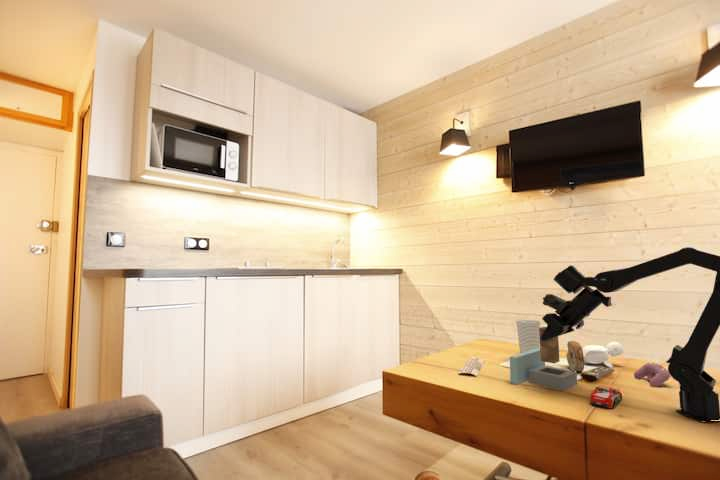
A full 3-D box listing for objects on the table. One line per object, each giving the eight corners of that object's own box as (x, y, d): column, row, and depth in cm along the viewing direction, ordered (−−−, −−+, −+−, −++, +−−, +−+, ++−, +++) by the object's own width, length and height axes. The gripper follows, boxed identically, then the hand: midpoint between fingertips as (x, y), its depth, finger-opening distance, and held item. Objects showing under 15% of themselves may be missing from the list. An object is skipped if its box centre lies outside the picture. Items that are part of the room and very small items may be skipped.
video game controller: (665, 393, 105) (676, 372, 105) (649, 385, 106) (660, 364, 106) (645, 383, 115) (655, 363, 114) (631, 375, 115) (640, 356, 115)
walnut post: (559, 361, 109) (557, 328, 110) (554, 363, 106) (552, 329, 107) (545, 359, 112) (544, 326, 113) (540, 361, 109) (539, 328, 110)
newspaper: (468, 361, 139) (468, 356, 139) (487, 363, 136) (487, 358, 136) (458, 377, 118) (458, 371, 118) (480, 379, 115) (480, 374, 115)
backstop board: (545, 372, 120) (544, 348, 121) (516, 384, 108) (515, 357, 108) (539, 371, 122) (538, 347, 123) (510, 383, 109) (509, 356, 110)
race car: (601, 394, 100) (600, 380, 101) (624, 399, 96) (623, 384, 96) (586, 405, 91) (585, 389, 92) (611, 411, 87) (610, 395, 88)
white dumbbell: (587, 374, 129) (633, 362, 124) (576, 352, 131) (620, 339, 126) (582, 369, 137) (624, 357, 132) (572, 347, 139) (613, 335, 134)
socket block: (577, 385, 108) (576, 371, 109) (564, 392, 102) (563, 377, 102) (543, 377, 116) (543, 365, 116) (529, 383, 110) (528, 370, 110)
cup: (528, 366, 129) (526, 322, 131) (512, 360, 137) (511, 319, 139) (547, 364, 131) (545, 322, 133) (530, 359, 140) (529, 319, 141)
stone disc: (587, 375, 118) (585, 344, 119) (574, 374, 119) (573, 344, 120) (578, 367, 128) (576, 339, 129) (566, 366, 129) (565, 338, 130)
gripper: (570, 284, 114) (536, 316, 122) (547, 286, 102) (511, 321, 109) (600, 311, 108) (563, 342, 115) (580, 316, 95) (539, 351, 103)
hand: (544, 338), depth 111 cm, fingers closed on walnut post, 4 cm apart
